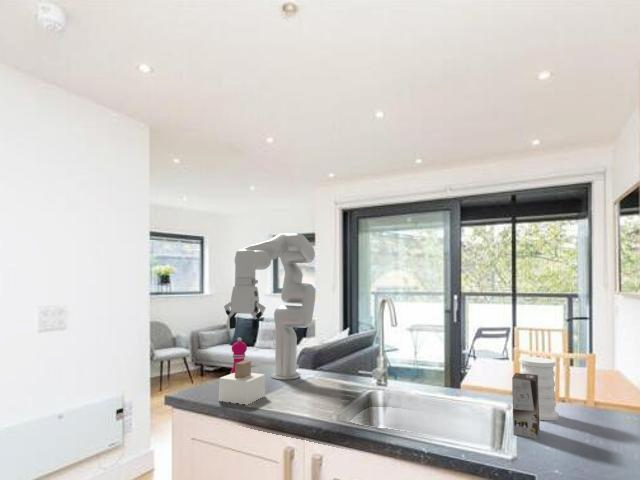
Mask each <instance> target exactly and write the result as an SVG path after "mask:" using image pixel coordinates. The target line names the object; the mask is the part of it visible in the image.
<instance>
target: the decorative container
mask: <svg viewBox="0 0 640 480" xmlns="http://www.w3.org/2000/svg"><path fill="white" fill-rule="evenodd" d="M518 363H520V364H521V367H520V373H521V374H533V375H538V398H539V421H541V420H555V421H558V420H559V419H560V417H559V416H560V414H559V412H557V411H556V405H557V402H556V400H555V397H556V391H555V386H556V382H555V380H554V379H555V375H556V372H555V370H554V367H556V365H557V362H556V360H554V359H552V358H546V357H541V356H540V357H538V356H520V357H519V359H518ZM557 419H558V420H557Z"/></svg>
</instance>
